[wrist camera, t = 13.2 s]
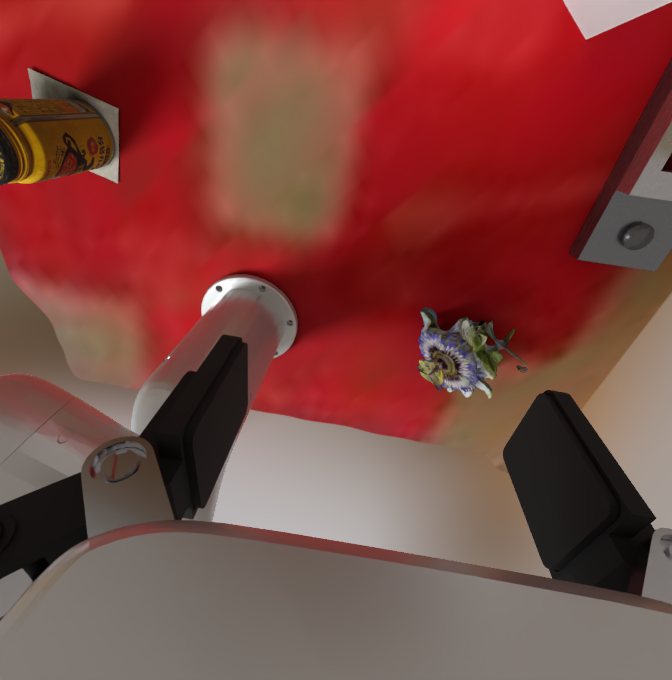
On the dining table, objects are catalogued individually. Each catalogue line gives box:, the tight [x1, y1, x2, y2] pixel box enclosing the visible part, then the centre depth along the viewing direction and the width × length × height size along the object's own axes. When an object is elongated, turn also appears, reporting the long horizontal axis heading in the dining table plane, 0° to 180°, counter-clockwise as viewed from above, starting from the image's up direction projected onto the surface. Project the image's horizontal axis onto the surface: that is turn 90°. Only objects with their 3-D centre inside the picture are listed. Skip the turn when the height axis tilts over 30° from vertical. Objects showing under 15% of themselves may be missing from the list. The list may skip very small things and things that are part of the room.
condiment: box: [0, 68, 119, 185], centre depth 30 cm, size 7×8×12 cm
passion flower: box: [417, 308, 528, 398], centre depth 40 cm, size 11×11×12 cm
